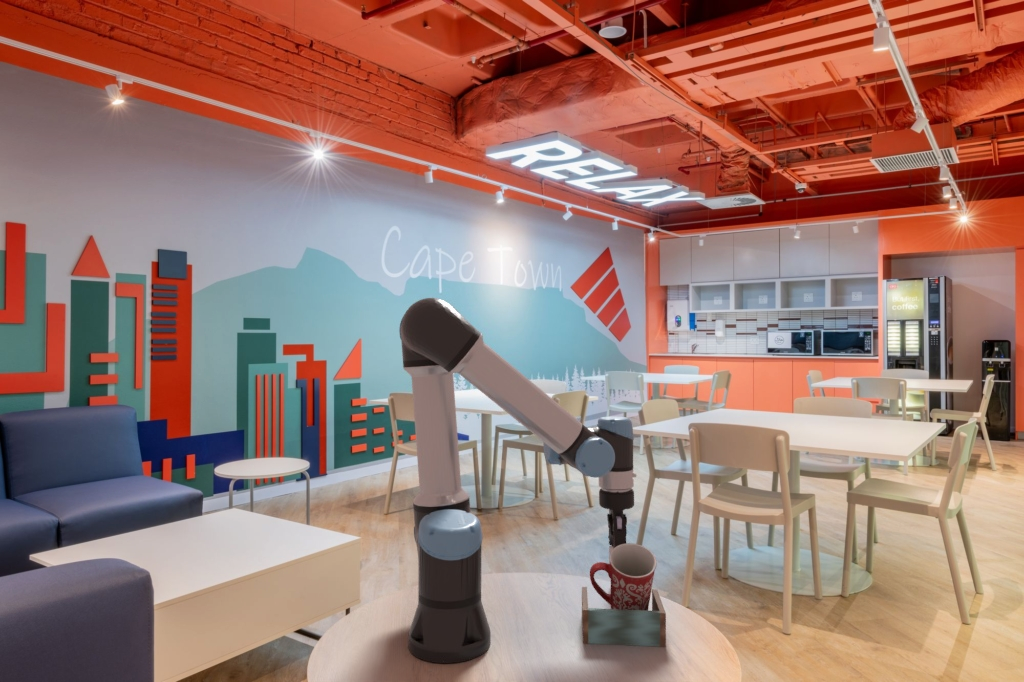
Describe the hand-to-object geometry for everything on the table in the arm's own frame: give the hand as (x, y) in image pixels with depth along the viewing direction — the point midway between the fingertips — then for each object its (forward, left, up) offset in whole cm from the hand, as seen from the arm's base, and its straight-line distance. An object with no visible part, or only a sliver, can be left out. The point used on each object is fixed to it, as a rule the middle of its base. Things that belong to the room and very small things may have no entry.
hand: (618, 586), depth 140 cm
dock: (0, -15, -3) cm, 15 cm away
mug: (0, -10, -1) cm, 10 cm away
